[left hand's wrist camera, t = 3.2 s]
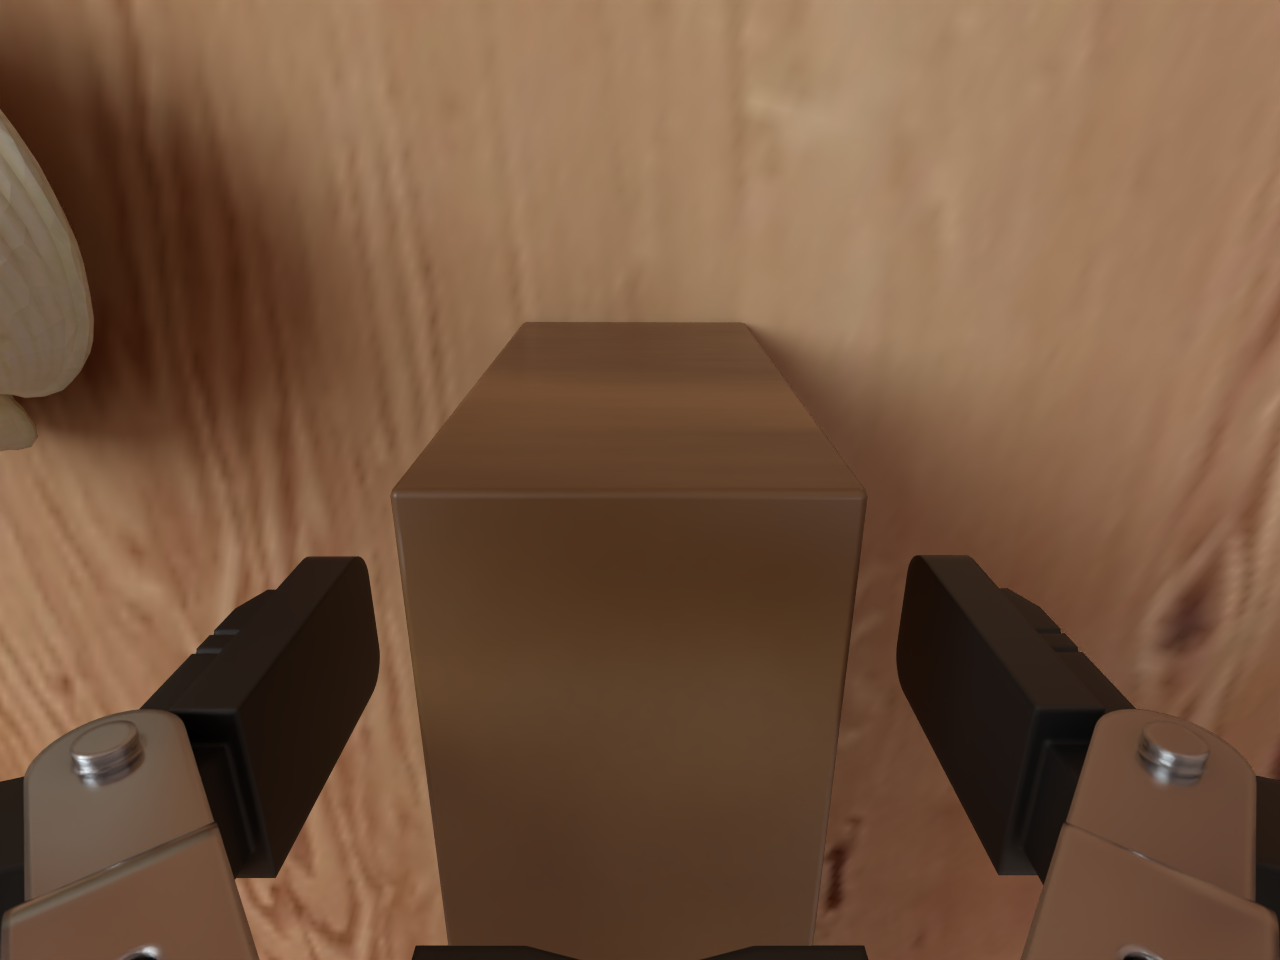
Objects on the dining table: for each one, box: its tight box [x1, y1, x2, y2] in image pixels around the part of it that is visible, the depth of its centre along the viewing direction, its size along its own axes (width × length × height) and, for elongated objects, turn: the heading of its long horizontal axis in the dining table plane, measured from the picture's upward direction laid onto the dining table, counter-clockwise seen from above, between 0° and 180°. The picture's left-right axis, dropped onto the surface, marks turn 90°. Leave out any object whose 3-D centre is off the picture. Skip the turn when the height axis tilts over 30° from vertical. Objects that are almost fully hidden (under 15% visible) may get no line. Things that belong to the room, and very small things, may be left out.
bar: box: [391, 322, 867, 960], centre depth 16 cm, size 24×5×9 cm, turn 0°
